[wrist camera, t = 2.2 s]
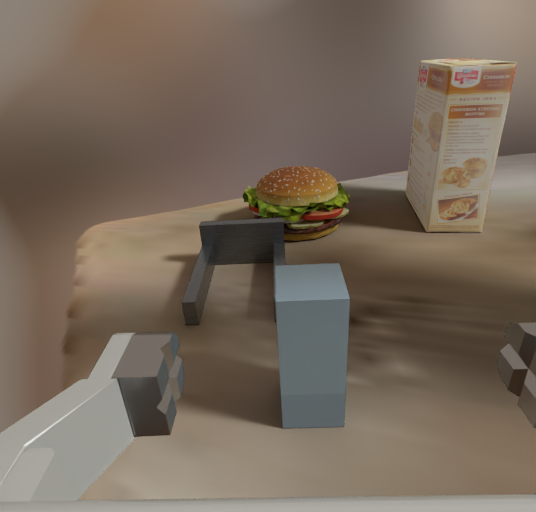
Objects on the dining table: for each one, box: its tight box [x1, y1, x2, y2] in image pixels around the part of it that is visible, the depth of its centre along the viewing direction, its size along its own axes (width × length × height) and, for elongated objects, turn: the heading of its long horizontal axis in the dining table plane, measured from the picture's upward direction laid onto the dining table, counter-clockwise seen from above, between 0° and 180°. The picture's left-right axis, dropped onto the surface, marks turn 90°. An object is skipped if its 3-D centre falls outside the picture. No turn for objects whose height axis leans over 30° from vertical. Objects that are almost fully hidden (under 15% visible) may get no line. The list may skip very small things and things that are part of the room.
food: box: [243, 166, 350, 241], centre depth 55 cm, size 14×14×8 cm
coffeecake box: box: [406, 58, 517, 232], centre depth 53 cm, size 15×7×20 cm, turn 173°
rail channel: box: [182, 218, 286, 325], centre depth 41 cm, size 9×13×5 cm
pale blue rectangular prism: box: [275, 263, 350, 428], centre depth 26 cm, size 4×4×10 cm
